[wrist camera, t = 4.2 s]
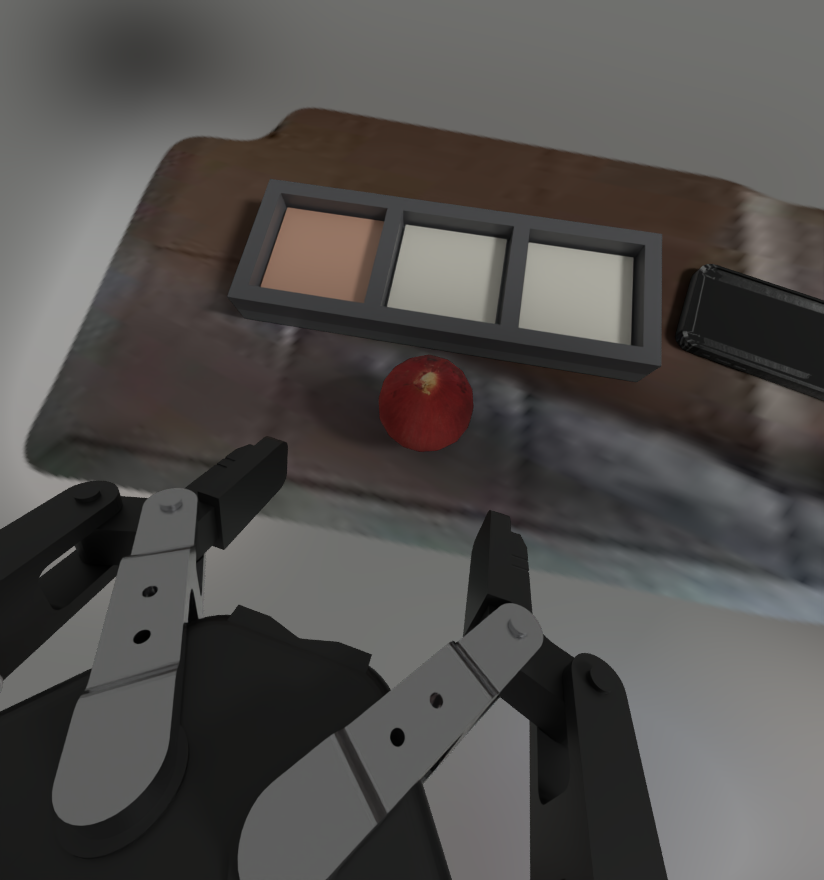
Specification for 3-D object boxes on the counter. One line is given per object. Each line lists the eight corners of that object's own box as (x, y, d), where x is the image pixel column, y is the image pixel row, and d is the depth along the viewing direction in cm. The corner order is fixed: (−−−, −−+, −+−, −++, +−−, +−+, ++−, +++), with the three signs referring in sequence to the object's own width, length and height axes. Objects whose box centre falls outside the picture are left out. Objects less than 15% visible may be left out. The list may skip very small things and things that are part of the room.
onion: (398, 375, 26) (391, 310, 18) (472, 396, 25) (498, 338, 18) (373, 448, 24) (354, 411, 17) (452, 471, 24) (470, 444, 16)
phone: (701, 260, 27) (903, 326, 26) (690, 270, 28) (883, 334, 27) (679, 342, 26) (894, 418, 24) (668, 349, 27) (873, 423, 25)
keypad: (639, 260, 28) (662, 234, 26) (636, 381, 26) (661, 366, 23) (282, 208, 30) (270, 178, 27) (244, 318, 27) (227, 296, 25)
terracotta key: (385, 225, 28) (384, 221, 27) (363, 311, 26) (363, 308, 25) (289, 211, 28) (287, 207, 28) (261, 295, 26) (258, 291, 26)
